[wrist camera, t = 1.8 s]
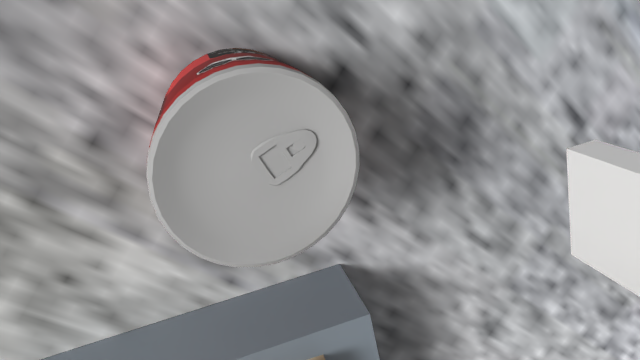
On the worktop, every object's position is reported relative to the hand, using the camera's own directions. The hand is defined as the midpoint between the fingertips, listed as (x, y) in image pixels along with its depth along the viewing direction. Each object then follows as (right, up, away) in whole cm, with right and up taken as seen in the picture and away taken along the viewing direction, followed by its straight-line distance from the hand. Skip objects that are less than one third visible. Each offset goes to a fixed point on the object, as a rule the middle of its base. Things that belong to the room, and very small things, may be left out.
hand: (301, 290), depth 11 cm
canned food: (-5, +6, +18) cm, 20 cm away
